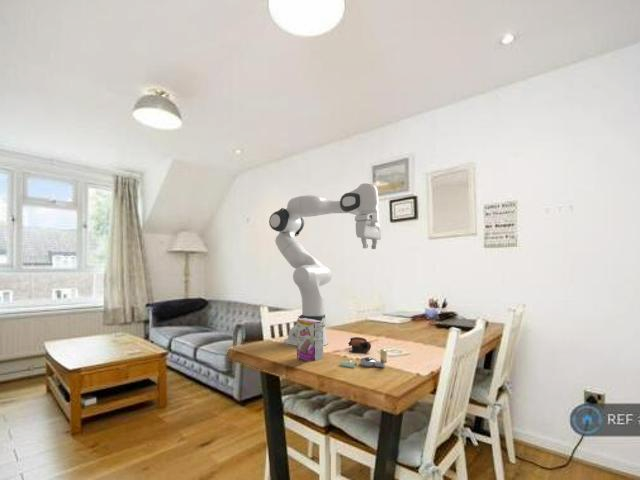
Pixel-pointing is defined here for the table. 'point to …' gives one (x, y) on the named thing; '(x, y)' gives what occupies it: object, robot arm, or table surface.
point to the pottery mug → (359, 345)
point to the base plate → (348, 364)
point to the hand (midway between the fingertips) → (369, 248)
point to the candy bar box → (309, 339)
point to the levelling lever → (374, 360)
